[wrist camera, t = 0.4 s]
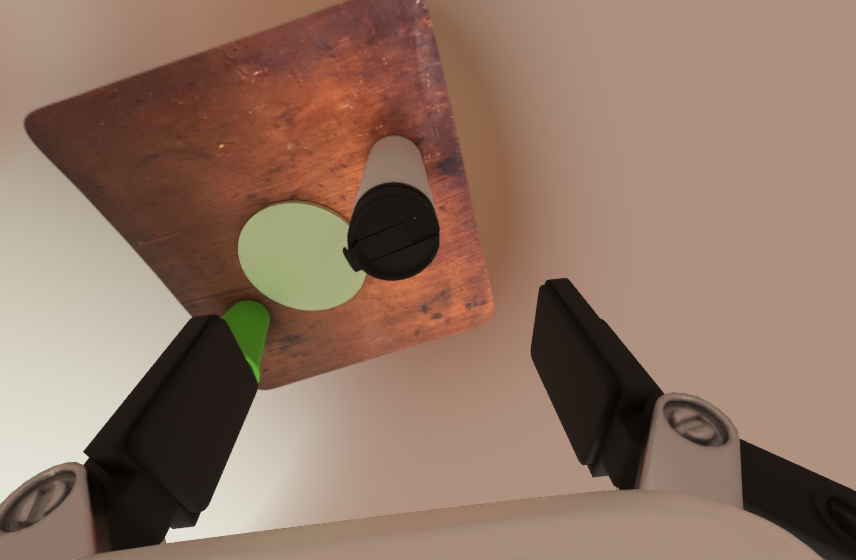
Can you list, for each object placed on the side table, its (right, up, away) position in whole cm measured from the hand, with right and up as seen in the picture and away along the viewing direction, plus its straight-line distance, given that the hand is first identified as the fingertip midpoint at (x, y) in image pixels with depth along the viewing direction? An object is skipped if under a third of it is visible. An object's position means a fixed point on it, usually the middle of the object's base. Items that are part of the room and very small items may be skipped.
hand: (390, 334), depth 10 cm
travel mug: (-3, +15, +28) cm, 32 cm away
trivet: (-15, +4, +34) cm, 37 cm away
